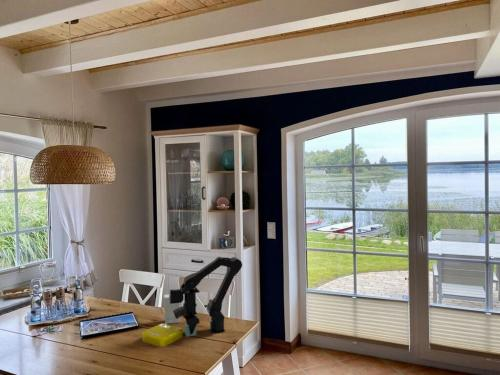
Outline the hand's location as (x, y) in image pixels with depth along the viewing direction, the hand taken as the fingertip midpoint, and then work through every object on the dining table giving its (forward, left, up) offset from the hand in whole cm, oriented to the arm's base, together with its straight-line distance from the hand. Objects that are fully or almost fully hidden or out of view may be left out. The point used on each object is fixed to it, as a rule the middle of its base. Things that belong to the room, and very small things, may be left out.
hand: (190, 332), depth 192 cm
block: (0, 0, -1) cm, 1 cm away
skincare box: (+7, -20, -1) cm, 21 cm away
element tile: (+14, 0, -2) cm, 14 cm away
